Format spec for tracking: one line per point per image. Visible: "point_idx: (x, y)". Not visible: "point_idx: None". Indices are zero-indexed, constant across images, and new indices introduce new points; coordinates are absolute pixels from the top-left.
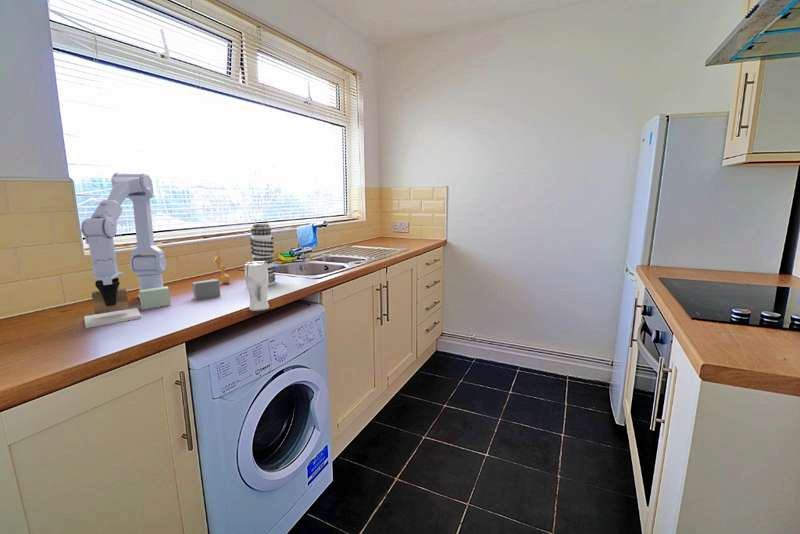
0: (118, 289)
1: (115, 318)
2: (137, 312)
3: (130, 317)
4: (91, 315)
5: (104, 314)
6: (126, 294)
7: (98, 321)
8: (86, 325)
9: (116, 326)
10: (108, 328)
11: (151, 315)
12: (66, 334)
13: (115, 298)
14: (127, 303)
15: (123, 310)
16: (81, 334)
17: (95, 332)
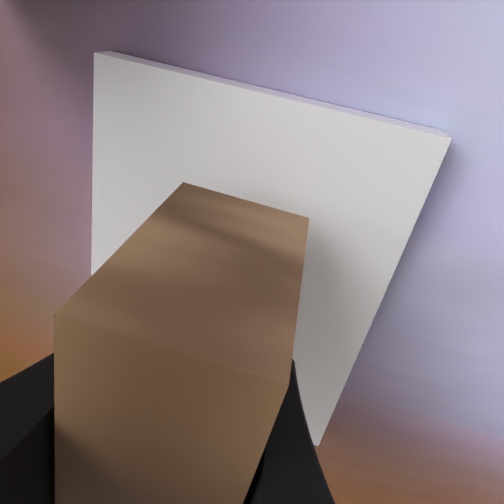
0: (122, 416)
1: (341, 308)
2: (307, 122)
3: (414, 223)
4: None
5: None
6: (295, 326)
7: (314, 390)
8: (319, 436)
9: (478, 333)
10: (470, 374)
11: (439, 12)
12: (352, 496)
13: (303, 421)
14: (302, 253)
15: (115, 178)
16: (434, 474)
17: (477, 435)
